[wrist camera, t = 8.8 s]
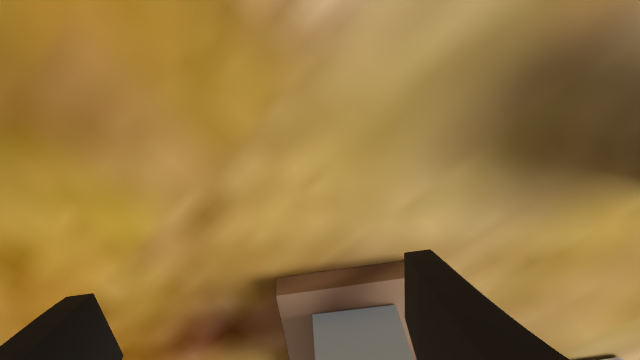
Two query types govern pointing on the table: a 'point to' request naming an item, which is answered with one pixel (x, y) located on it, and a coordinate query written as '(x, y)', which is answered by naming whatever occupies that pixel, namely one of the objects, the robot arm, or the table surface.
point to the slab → (336, 300)
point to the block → (360, 335)
